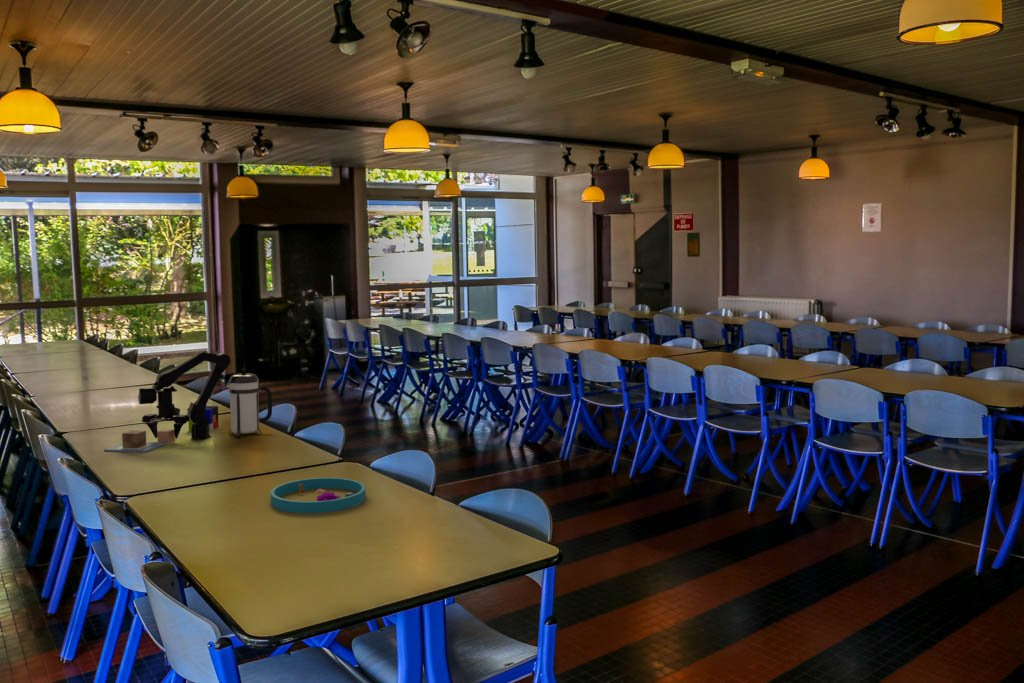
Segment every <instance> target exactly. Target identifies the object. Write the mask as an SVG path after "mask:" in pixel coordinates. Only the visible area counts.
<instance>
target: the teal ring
mask: <svg viewBox="0 0 1024 683" xmlns="http://www.w3.org/2000/svg"><path fill="white" fill-rule="evenodd" d="M337 488H341V489H342V490H346V489H349V490H347V491H346V492H345V495H344V497H341V494H340V492H338V491H335V492H330V491H327V489H337ZM313 489H316V490H315V494H318V496H317V497H316V499H315V500H313V501H311V500H310V501H306V500H304V501H303V500H291V498H288V497H286V498H282V496H284V495H288V494H291V493H294V492H295V493H296V492H298V491H299V496H302V495H304V491H306V490H313ZM341 489H340V490H341ZM351 490H353V491H352V492H349V491H351ZM366 490H367V487H366V486H365V484H364V483H363V482H360V481H359V480H354V479H350V478H343V477H311V478H304V479H297V480H292V481H287V482H284V483H282V484H279V485H277V486H275V487H273V488H272V489H271V490H270V505H271V506H272V507H273V508H274V509H276V510H279V511H282V512H287V513H288V512H289V513H295V514H296V513H297V514H318V513H319V514H320V513H322V514H323V513H332V512H337V510H338V511H342V509H343V510H347V509H350V508H349V507H351V508H353V507H352V506H354V507H356V506H358V505H357V504H359V503H360V504H362V503H363V502H364V501H365V500H366V498H365V497H366ZM354 491H357V492H358V493H357V492H355V493H353V492H354ZM364 499H365V500H364ZM363 500H364V501H363ZM362 501H363V502H362ZM361 502H362V503H361ZM360 504H359V505H360ZM355 505H356V506H355ZM346 508H347V509H346Z"/></svg>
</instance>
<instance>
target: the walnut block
mask: <svg viewBox="0 0 1024 683" xmlns="http://www.w3.org/2000/svg"><path fill="white" fill-rule="evenodd" d="M121 436H122V437H121V440H122V442H121V443H122V444H123V448H139V447H142V446H145V445H146V442H147V431H146V430H138V429H137V430H134V429H133V430H128V431H125V432H122V433H121Z"/></svg>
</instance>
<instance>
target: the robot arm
mask: <svg viewBox="0 0 1024 683" xmlns="http://www.w3.org/2000/svg"><path fill="white" fill-rule="evenodd" d="M231 361H232V360H231V356H229V355H228V354H226V353H225V352H218V353H213V352H206V351H203V350H202V351H201V350H200V351H198V352H197V353H196V354H195V355H193V356H192V357H190V358H188V359H187V360H185V361H183V362H182V363H181V364H179V365H177V366H175V367H174V368H171V369H168V370H166V371H163V372H160V373H159V374H158V375H157V376H156V381H155V382H154V384H153V385H152V386H151V387H145V388H143V387H140V388H138V395H137V398H138V400H137V401H138V404H139V405H150V404H151V405H152V404H155V403H156V401H157V405H156V409H158V410H157V411H158V413H147V414H145V415H143V416H142V418H141V422H142V423H144V424H145V425H147V427H148V428H149V430H150V432H151V433H152V434H153V437H154V438H155V439H158V435H157V431H158V424H159V422H161V421H166V422H167V421H168V422H174V423H173V430H174V433H175V440H177V439H178V438H179V435H180V432H181V429H182V427H183V426H184V425H186V424H187V423H189V419H190V420H192V422H193V423H194V424H193V425H192V428H191V431H190V432H191V437H190V440H207V439H209V438H211V437H212V435H210V431H209V420H208V419H207V418H206V417H204V414H205V411H206V406H207V404H208V401H209V399H210V398H211V395H212V394H213V391H214V389H215V387H216V385H217V383H218V381H219V379H220V377H221V375H222V374H223V373H224V372H225V371H226V369H227V368H228V367H229V366H230V364H231ZM203 362H209V363H212V364H211V371H210V373H209V375H208V377H207V378H206V381H205V384H204V385H203V387H202V389H201V391H200V394H199V396H198V397H197V399H196V400H195V401H194V402H190V404H189V406H188V408H187V409H186V411H187V412H186V414H180V412H181V409H180V408H178V407H175V403H173V393H174V392H178V390H177V389H176V388H175V387H174V386H173V384H174V383H175V382H176V381H177V380H178V379H179V378H180V377H181V376H183V375H184V374H186V373H187V372H190V371H191V370H192V369H193V368H195V367H197V366H198V365H200V364H202V363H203Z"/></svg>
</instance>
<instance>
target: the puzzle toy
mask: <svg viewBox="0 0 1024 683" xmlns="http://www.w3.org/2000/svg"><path fill="white" fill-rule="evenodd" d="M204 417H206V418H207V419H208V420H209V432H211V431H213V429H214V430H215V428H216V429H218V428H219V426H220V425H219V424H220V423H219V406H218V405H206V411H205V414H204ZM193 424H194V423H193V422H192V420H190V419H189V421H188V432H191V428H192V425H193ZM217 427H218V428H217Z"/></svg>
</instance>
